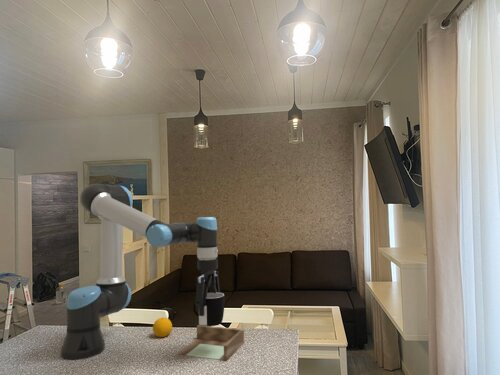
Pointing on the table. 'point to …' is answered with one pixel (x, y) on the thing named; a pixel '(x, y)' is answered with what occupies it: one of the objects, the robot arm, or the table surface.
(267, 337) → the table surface
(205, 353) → the pad
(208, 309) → the mug
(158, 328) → the yellow orange fruit
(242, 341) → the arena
